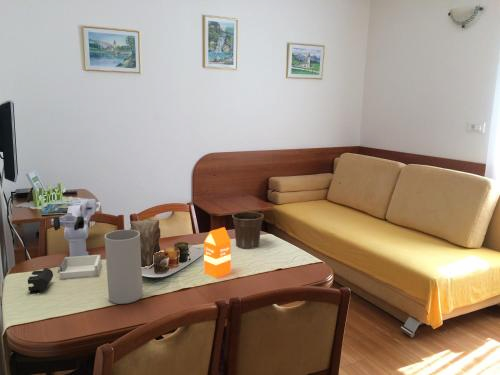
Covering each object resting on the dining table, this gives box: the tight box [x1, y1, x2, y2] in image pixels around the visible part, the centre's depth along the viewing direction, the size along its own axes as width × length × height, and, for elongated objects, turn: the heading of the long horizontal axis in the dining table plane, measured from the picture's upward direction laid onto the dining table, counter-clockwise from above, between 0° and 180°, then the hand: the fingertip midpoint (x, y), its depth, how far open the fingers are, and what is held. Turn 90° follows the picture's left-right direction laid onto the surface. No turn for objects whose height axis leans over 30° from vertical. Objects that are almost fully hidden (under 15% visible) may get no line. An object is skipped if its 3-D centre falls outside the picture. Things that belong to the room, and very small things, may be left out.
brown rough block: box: [129, 218, 161, 267], centre depth 191 cm, size 13×13×20 cm
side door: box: [57, 258, 67, 274], centre depth 179 cm, size 10×2×4 cm, turn 14°
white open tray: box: [59, 254, 102, 281], centre depth 181 cm, size 13×15×5 cm
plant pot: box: [231, 211, 264, 250], centre depth 216 cm, size 16×16×16 cm
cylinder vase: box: [104, 229, 144, 305], centre depth 157 cm, size 12×12×25 cm
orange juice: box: [203, 226, 232, 279], centre depth 180 cm, size 8×9×20 cm
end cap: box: [27, 267, 54, 295], centre depth 165 cm, size 10×7×7 cm
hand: (65, 228), depth 175 cm, fingers open, 7 cm apart
